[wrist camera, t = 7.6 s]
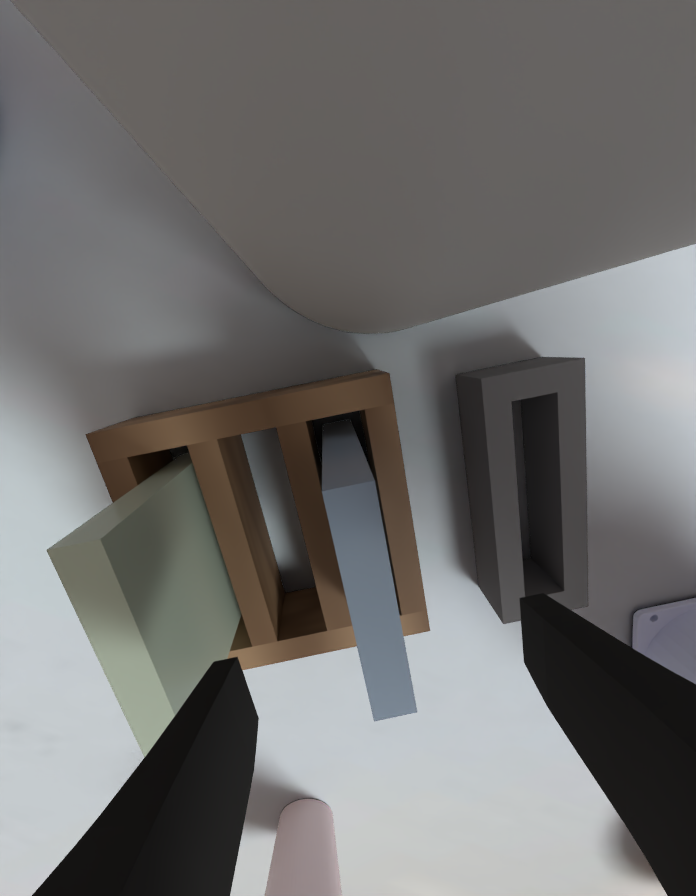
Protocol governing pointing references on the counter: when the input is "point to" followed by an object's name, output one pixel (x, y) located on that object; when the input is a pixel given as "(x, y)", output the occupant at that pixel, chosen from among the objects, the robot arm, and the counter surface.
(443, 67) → the cylinder vase
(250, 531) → the rack
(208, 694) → the robot arm
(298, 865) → the smoothie
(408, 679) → the blue grey tile
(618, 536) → the counter surface
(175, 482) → the thin sage green tile
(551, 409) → the stand
